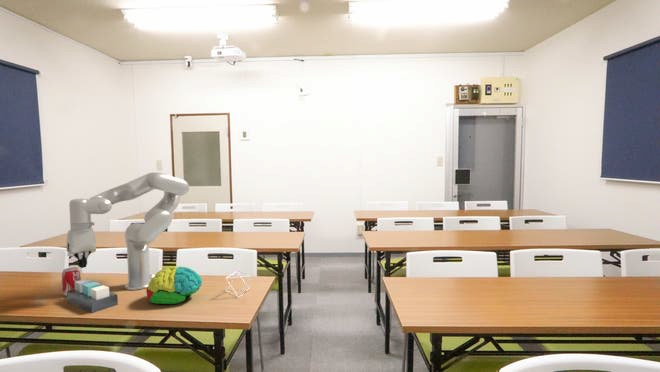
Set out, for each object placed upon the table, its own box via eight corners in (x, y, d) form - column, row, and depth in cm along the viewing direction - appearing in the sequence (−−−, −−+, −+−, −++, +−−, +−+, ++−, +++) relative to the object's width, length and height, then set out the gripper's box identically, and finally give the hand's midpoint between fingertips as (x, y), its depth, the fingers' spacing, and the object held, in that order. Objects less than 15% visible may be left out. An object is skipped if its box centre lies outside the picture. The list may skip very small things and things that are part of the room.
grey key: (87, 289, 159) (87, 278, 158) (92, 291, 156) (92, 280, 156) (75, 292, 155) (74, 281, 154) (80, 294, 152) (79, 283, 152)
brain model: (209, 291, 164) (207, 260, 164) (191, 307, 145) (188, 272, 145) (162, 292, 166) (159, 262, 165) (137, 309, 147) (134, 274, 146)
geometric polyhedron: (220, 296, 159) (219, 277, 158) (232, 288, 169) (231, 270, 169) (244, 299, 156) (244, 279, 155) (255, 290, 166) (255, 272, 166)
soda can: (71, 297, 158) (69, 271, 157) (58, 296, 159) (57, 270, 159) (84, 291, 165) (83, 267, 164) (72, 290, 166) (71, 266, 166)
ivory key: (103, 296, 151) (103, 285, 151) (109, 298, 148) (109, 287, 148) (91, 300, 147) (90, 288, 146) (96, 302, 144) (96, 291, 144)
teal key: (95, 292, 155) (95, 281, 154) (100, 294, 152) (100, 283, 152) (82, 296, 151) (82, 284, 150) (88, 298, 148) (87, 286, 148)
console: (92, 294, 162) (92, 284, 162) (117, 304, 150) (117, 294, 149) (67, 301, 153) (66, 291, 153) (92, 313, 141) (91, 302, 141)
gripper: (95, 223, 162) (96, 261, 163) (57, 228, 149) (59, 270, 150) (103, 224, 158) (104, 264, 159) (64, 230, 145) (66, 272, 146)
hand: (82, 266), depth 155 cm, fingers closed
